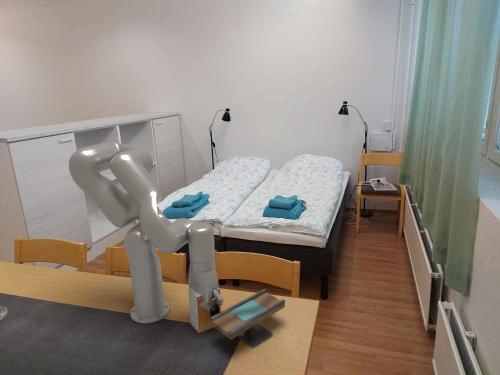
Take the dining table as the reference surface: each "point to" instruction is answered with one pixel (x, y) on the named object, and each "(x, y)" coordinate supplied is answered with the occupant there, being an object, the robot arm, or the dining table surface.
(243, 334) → the pivot stand
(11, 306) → the dining table surface
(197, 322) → the small box
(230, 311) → the brown flat channel
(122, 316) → the dining table surface
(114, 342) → the dining table surface
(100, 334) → the dining table surface
